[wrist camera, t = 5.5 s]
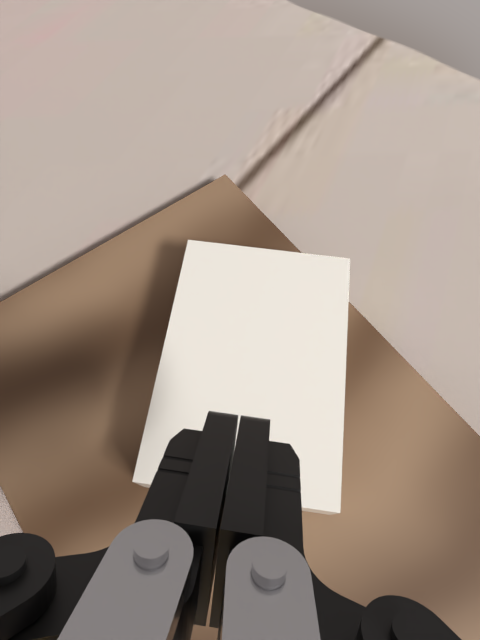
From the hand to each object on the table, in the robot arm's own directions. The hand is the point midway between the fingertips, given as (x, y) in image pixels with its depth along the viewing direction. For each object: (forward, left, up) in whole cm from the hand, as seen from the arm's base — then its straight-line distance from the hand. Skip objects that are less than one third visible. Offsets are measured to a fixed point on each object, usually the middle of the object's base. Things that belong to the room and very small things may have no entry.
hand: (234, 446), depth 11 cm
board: (-1, +1, -8) cm, 8 cm away
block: (+1, -1, -6) cm, 6 cm away
